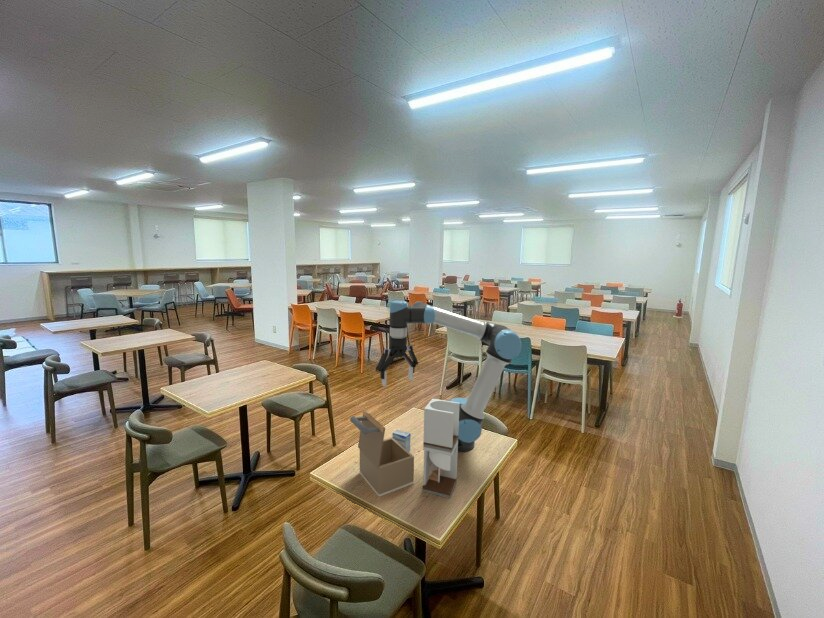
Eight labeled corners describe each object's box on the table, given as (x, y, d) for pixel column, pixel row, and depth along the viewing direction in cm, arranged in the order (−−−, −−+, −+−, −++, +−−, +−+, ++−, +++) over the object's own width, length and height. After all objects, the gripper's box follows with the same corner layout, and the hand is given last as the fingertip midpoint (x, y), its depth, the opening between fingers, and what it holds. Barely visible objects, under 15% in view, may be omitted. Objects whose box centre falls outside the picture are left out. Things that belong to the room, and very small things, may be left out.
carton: (392, 462, 164) (392, 437, 162) (413, 483, 149) (414, 456, 147) (359, 473, 155) (359, 447, 153) (378, 496, 140) (379, 468, 138)
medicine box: (391, 449, 174) (392, 432, 173) (396, 445, 178) (396, 429, 177) (406, 454, 170) (406, 437, 169) (410, 449, 174) (410, 432, 173)
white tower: (422, 491, 144) (424, 408, 138) (430, 476, 154) (432, 398, 148) (450, 498, 140) (453, 413, 135) (456, 482, 150) (459, 402, 144)
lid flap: (379, 468, 138) (360, 471, 134) (359, 446, 153) (342, 449, 149) (385, 428, 137) (367, 429, 133) (365, 410, 152) (348, 411, 148)
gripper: (417, 331, 167) (416, 375, 170) (368, 337, 154) (368, 385, 157) (426, 335, 161) (425, 380, 164) (376, 341, 147) (376, 390, 151)
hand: (397, 383), depth 160 cm, fingers open, 13 cm apart
